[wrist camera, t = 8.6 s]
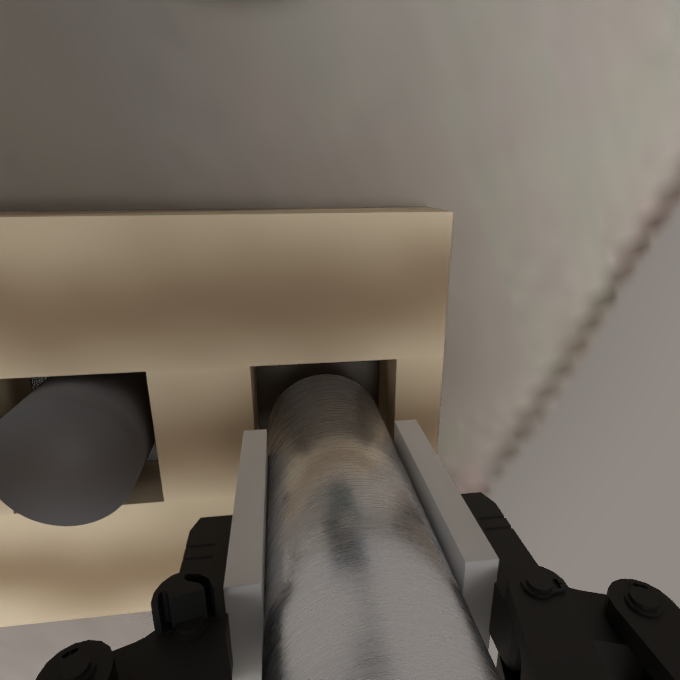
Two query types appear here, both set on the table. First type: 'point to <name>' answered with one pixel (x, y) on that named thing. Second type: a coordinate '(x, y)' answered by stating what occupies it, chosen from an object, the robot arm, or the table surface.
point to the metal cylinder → (354, 552)
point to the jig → (181, 372)
